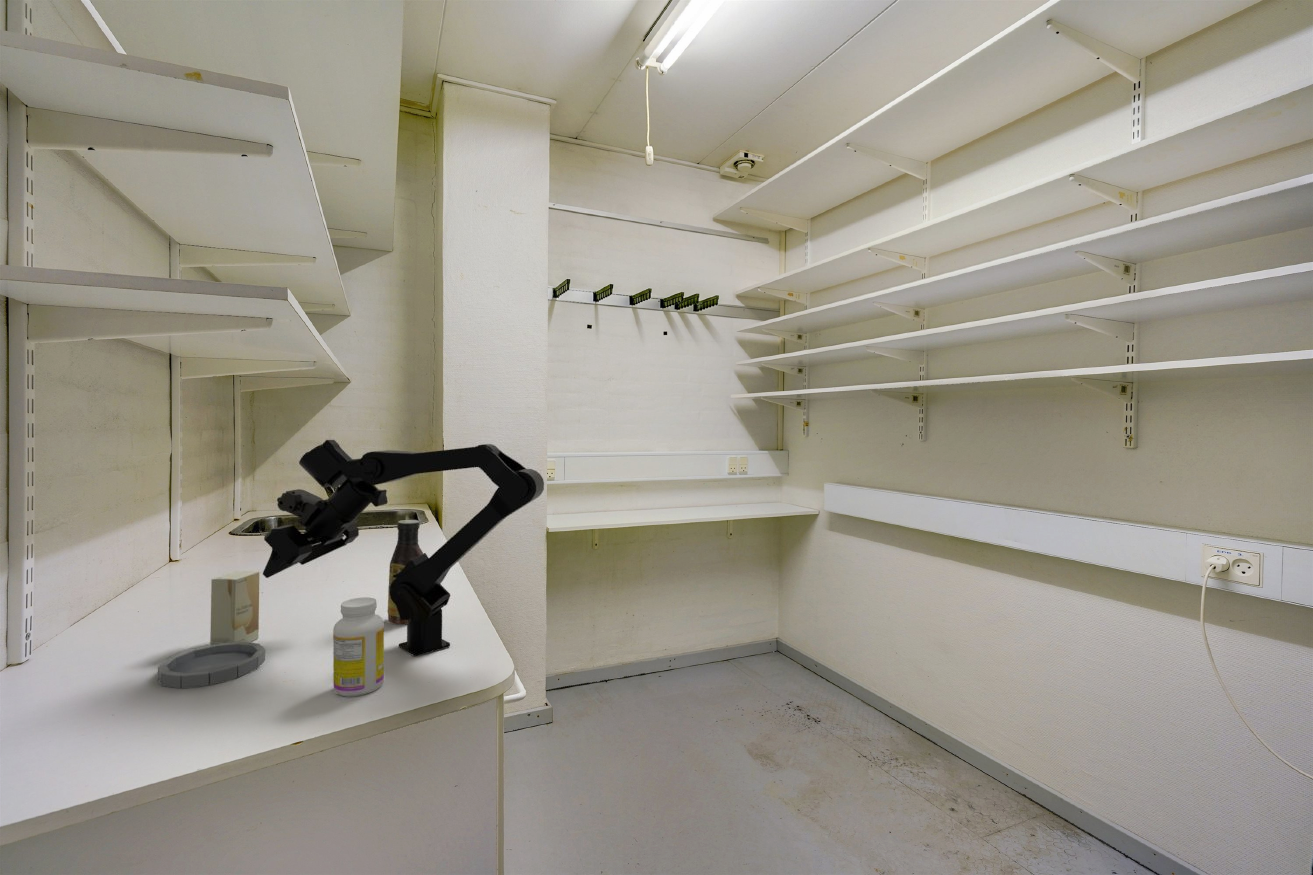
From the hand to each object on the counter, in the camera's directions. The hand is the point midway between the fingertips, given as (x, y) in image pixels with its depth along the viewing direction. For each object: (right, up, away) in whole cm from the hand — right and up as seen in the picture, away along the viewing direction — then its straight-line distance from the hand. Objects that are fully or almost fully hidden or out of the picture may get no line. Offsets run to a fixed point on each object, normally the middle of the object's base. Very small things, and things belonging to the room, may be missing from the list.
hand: (283, 569), depth 101 cm
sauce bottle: (+16, -13, +13) cm, 25 cm away
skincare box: (-8, -13, 0) cm, 16 cm away
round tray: (-4, -13, -11) cm, 17 cm away
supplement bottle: (+22, -14, -16) cm, 30 cm away
